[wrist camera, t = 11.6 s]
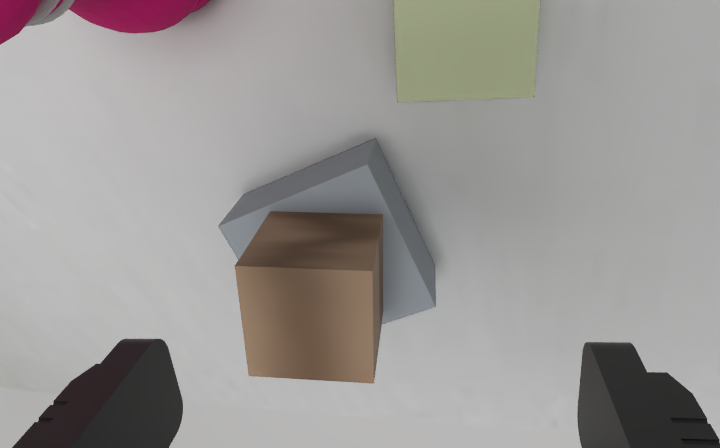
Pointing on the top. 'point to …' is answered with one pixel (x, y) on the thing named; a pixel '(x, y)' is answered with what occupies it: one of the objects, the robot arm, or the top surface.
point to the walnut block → (313, 296)
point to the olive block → (465, 49)
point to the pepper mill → (96, 13)
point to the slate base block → (355, 196)
